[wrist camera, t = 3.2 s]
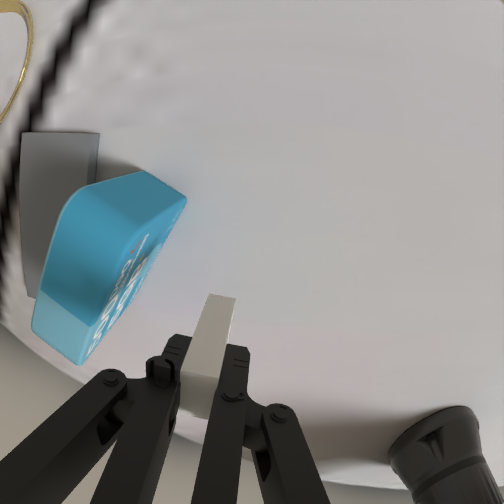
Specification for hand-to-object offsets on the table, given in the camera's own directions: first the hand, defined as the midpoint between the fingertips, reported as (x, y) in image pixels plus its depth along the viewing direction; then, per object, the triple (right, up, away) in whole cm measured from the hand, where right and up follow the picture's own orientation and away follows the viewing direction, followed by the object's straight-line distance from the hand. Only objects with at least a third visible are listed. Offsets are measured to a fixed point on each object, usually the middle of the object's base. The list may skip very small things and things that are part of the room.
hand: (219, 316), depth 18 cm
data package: (-8, +5, +10) cm, 14 cm away
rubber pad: (-18, +7, +9) cm, 21 cm away
